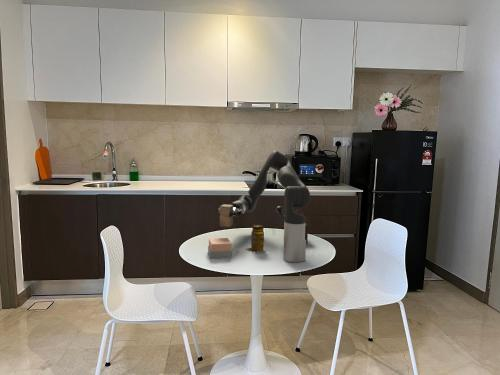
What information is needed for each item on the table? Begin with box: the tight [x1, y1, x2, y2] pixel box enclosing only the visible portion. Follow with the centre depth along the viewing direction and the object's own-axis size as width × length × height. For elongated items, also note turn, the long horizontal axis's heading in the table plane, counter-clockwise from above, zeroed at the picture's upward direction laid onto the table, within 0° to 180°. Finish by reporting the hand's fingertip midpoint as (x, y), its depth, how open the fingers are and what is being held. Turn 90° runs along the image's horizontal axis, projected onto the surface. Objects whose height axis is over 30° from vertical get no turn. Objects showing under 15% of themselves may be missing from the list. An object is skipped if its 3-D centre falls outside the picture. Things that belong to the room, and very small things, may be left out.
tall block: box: [219, 204, 234, 228], centre depth 190 cm, size 5×5×10 cm
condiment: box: [244, 224, 267, 254], centre depth 184 cm, size 7×8×12 cm
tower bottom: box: [207, 245, 233, 260], centre depth 177 cm, size 10×10×4 cm
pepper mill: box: [275, 205, 309, 244], centre depth 202 cm, size 16×11×18 cm
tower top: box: [208, 237, 233, 252], centre depth 177 cm, size 9×9×4 cm
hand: (224, 214), depth 187 cm, fingers closed on tall block, 5 cm apart
